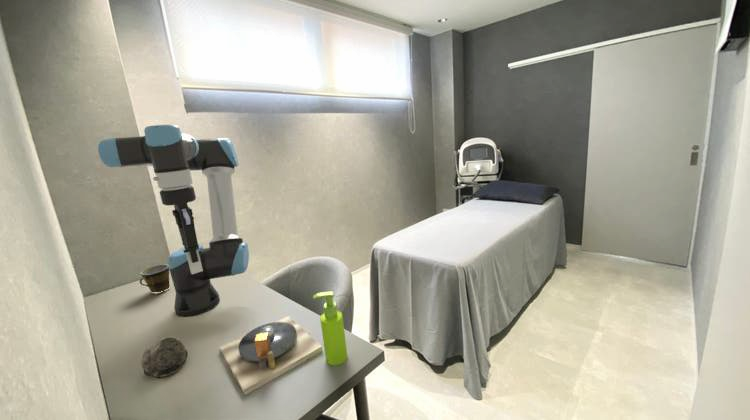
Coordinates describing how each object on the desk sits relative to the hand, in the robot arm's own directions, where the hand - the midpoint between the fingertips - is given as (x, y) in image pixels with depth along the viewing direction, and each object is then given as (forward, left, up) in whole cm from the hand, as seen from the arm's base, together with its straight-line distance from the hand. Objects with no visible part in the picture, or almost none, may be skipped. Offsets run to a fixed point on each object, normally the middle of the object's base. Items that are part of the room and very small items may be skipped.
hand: (196, 271), depth 87 cm
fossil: (-4, -12, -27) cm, 30 cm away
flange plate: (+12, +11, -24) cm, 29 cm away
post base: (+11, +12, -26) cm, 31 cm away
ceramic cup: (-62, -8, -27) cm, 68 cm away
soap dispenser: (+27, +24, -27) cm, 45 cm away
